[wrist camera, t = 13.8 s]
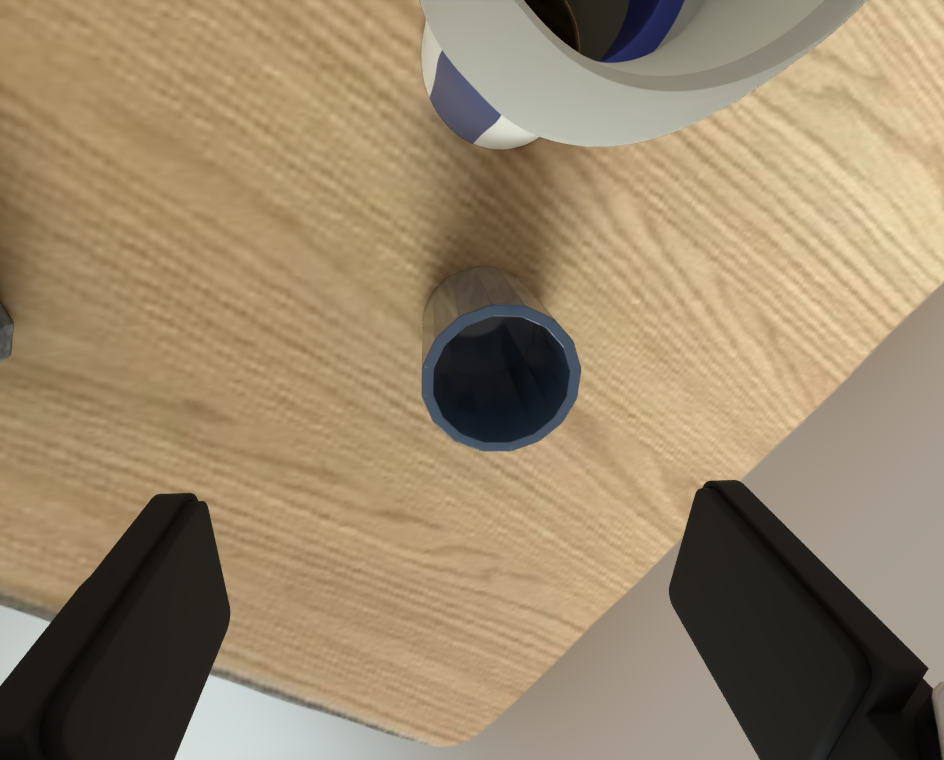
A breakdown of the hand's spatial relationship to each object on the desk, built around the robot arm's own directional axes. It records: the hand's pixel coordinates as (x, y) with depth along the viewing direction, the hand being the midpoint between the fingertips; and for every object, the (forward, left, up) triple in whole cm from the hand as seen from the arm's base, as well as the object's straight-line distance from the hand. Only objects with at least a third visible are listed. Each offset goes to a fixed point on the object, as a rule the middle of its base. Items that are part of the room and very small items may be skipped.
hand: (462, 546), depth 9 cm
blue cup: (+2, +3, -20) cm, 20 cm away
